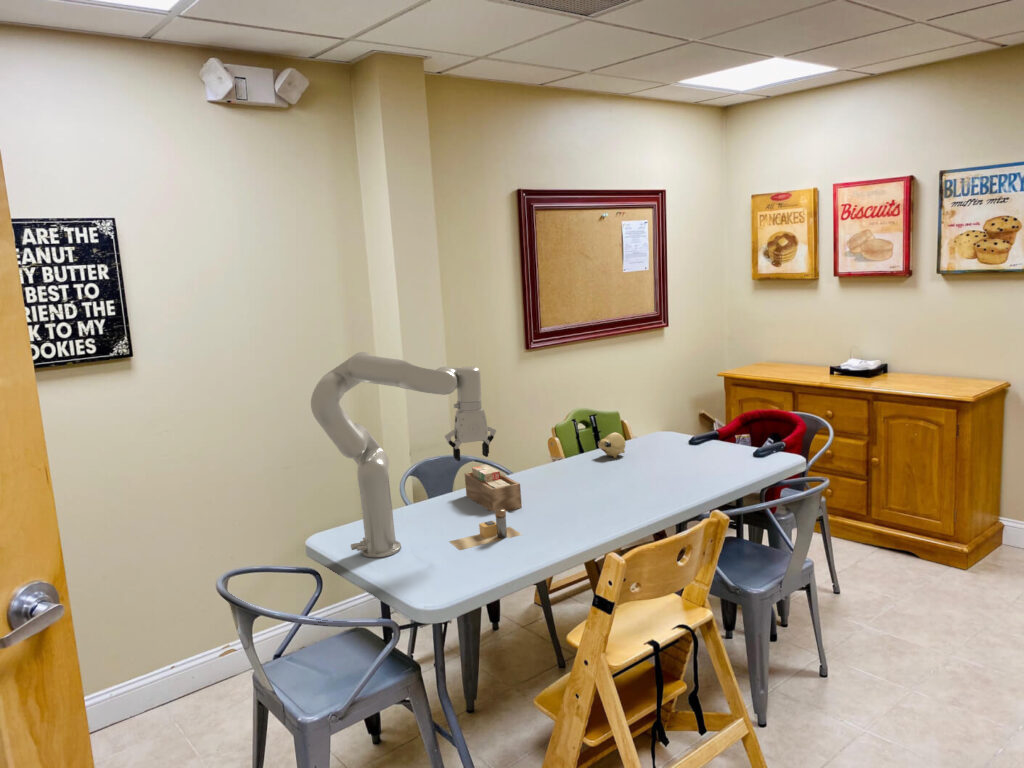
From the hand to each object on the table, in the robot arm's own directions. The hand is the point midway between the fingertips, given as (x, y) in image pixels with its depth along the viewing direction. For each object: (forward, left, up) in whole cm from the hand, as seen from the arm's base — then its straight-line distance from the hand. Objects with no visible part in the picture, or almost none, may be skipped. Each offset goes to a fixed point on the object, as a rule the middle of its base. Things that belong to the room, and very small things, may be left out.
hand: (471, 458), depth 244 cm
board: (+1, -3, -28) cm, 28 cm away
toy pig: (+89, +55, -28) cm, 108 cm away
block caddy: (+20, +32, -28) cm, 47 cm away
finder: (+4, -1, -26) cm, 27 cm away
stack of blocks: (+19, +31, -28) cm, 46 cm away
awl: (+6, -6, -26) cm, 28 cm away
